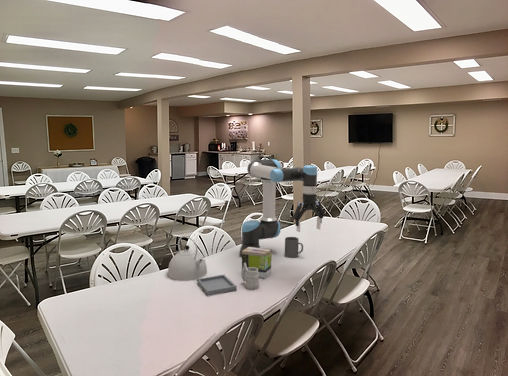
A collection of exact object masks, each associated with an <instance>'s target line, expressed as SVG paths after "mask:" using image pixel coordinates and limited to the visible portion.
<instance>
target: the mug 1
mask: <svg viewBox="0 0 508 376" xmlns="http://www.w3.org/2000/svg"><path fill="white" fill-rule="evenodd" d="M245 271H246V275H245ZM259 278H260V277H259V274H258V269H257V268H254V267H250V268H247V265H246V263H244V266H243V270H242V269H241V279H242V281H243V282H244V285H245V288H246V289H248V290H257V289H259V287H260V281H259Z"/></svg>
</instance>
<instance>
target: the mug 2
mask: <svg viewBox="0 0 508 376" xmlns="http://www.w3.org/2000/svg"><path fill="white" fill-rule="evenodd" d="M299 245H301V246H300V247H301V248H300V251H299ZM303 251H304V245H303V243H301V242H299V238H298V237H296V236H287V237H285V239H284V257H286V258H290V259H291V258H292V259H293V258H298V256H299V254H302V253H303Z"/></svg>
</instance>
